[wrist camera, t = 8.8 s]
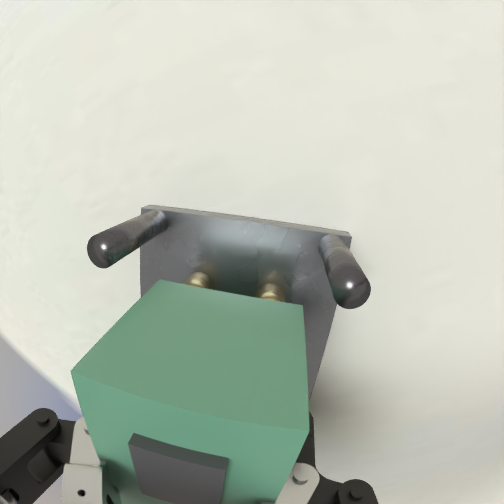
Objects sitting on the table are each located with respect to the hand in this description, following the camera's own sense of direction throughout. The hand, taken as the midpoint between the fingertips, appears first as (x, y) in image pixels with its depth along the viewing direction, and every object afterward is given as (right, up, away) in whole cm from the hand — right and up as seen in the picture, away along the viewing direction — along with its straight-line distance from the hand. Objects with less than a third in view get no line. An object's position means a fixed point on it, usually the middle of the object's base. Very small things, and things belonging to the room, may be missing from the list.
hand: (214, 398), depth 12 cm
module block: (0, 0, +1) cm, 1 cm away
